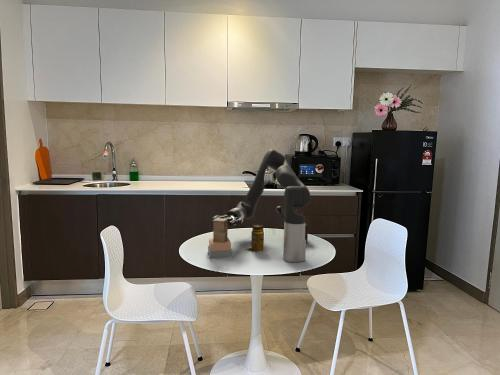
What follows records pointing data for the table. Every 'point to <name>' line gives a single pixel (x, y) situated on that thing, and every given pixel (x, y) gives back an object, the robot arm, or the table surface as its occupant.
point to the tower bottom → (219, 253)
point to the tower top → (219, 245)
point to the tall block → (220, 230)
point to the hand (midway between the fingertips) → (221, 223)
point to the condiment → (257, 239)
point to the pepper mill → (279, 210)
